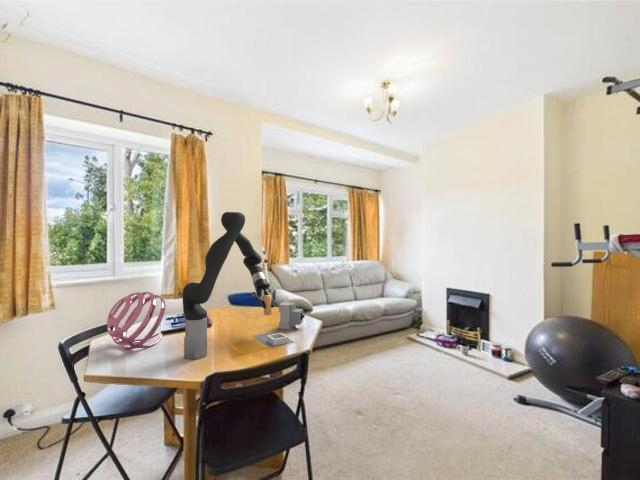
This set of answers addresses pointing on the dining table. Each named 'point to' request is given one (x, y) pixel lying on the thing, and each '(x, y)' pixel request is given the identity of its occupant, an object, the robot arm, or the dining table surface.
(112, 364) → the dining table surface
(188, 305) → the robot arm
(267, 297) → the wooden peg
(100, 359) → the dining table surface
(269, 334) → the lockout board
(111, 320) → the spiral basket
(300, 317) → the circuit breaker
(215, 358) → the dining table surface
